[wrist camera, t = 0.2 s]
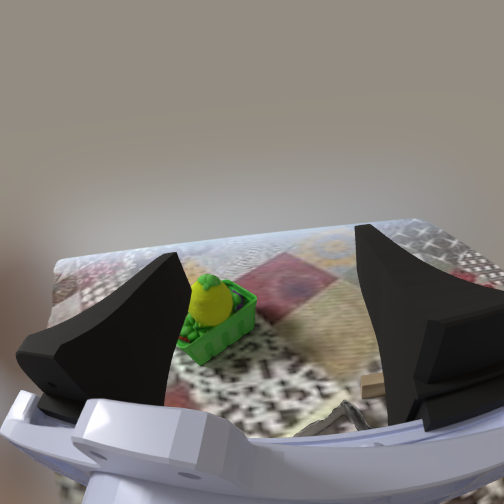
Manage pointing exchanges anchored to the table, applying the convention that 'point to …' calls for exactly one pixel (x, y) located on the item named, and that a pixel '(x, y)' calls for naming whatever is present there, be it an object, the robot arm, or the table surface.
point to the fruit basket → (215, 317)
